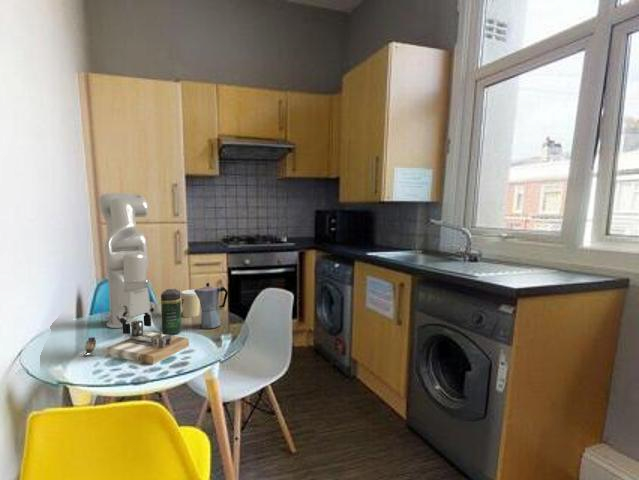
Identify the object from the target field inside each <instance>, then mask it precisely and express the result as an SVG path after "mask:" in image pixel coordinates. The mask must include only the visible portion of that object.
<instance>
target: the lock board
mask: <svg viewBox="0 0 639 480" xmlns="http://www.w3.org/2000/svg"><path fill="white" fill-rule="evenodd" d="M143 335H149V336H152V337H151V342H146V341H140V340H134V339H130V337H129V338H127V339H124V340H122V341H119V342H117V343H114V344H112V345H109V346H107V347H106V349H107V350H106V351H107V356H111V357H116V358H121V359H125V360H130V361H134V362H135V361H136V362H140V363H145V364H149V365H155V364H157V363H159V362H161V361H162V360H165V359H166V358H168V357H170V356H172V355H174V354H176V353H178V352H180V351H182V350H184V349H186V348H188V347H189V345H190V339H189V337H188V338H187V337H182V336H175V335H165V334H162V332H161V333H157V332H152V331H145V332H144V331H143ZM157 337H160V338H159V342H158V343H155V338H157Z"/></svg>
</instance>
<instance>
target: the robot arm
mask: <svg viewBox="0 0 639 480" xmlns="http://www.w3.org/2000/svg"><path fill="white" fill-rule="evenodd" d="M98 207H99V210H100V213H101V215H102V217H103V219H104V221H105V225H106V239H105V242H104V245H103V255H104V263H105V266H104V267H105V271H106V276H107V283H108V296H109V298H108V299H109V312H108V315H107V314H106V316H105V318H106V319H108V322H106V326H107V328H112V329H121V328H122V334H125V335H130V334H132V331H131V326H130V325H131V322H133V321H137V319H138V318H136V317H138V316H141V315H143V327H152V315H153V313H154V310H155V306H156V303H155V302H153V301H151V300H150V299H151V298H150V292H149V288H148V287H147V284H148V280H147V273H148V271H149V255H148V253H149V252H148V243H147V238H146V235H145V234H144V233H143V232H141V231H138V227H137V222H136V218H145V217H147V216H148V214H149V212H150V211H149V209H150V208H149V204H148V201H147V199H146V198H145V197H144V196H143V195H141V194H140V193H121V192H120V193H119V192H118V193H117V192H109V193H103V194H101V195H99V197H98ZM134 318H136V319H135V320H134Z"/></svg>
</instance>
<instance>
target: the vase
mask: <svg viewBox="0 0 639 480" xmlns="http://www.w3.org/2000/svg"><path fill="white" fill-rule="evenodd" d="M87 338H88V339H87V341H86V343H85V346H84V350H85V352H86V353H84V354H83V355H85V354H87V353H90V354H91V355H89V356H90V357H94V356H95V354H94V351H95V349H96V343H97V341H96V337H94V336H93V337H87Z"/></svg>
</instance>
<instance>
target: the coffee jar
mask: <svg viewBox="0 0 639 480" xmlns="http://www.w3.org/2000/svg"><path fill="white" fill-rule="evenodd" d="M160 294H161V295H160V302H161V303H160V304H161V305H160V307H161V308H160V309H161V310H160V311H161V313H160V314H161V334H165V335H171V336H175V335H176V334H180V333H181V332H182V300H181V291H180V290H178V289H176V288H171V289H170V288H169V289H166V290H164V291H162V293H160Z"/></svg>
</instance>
